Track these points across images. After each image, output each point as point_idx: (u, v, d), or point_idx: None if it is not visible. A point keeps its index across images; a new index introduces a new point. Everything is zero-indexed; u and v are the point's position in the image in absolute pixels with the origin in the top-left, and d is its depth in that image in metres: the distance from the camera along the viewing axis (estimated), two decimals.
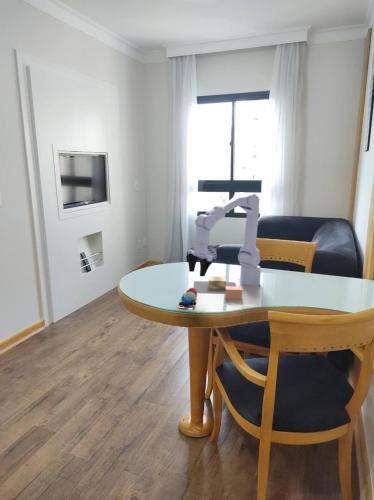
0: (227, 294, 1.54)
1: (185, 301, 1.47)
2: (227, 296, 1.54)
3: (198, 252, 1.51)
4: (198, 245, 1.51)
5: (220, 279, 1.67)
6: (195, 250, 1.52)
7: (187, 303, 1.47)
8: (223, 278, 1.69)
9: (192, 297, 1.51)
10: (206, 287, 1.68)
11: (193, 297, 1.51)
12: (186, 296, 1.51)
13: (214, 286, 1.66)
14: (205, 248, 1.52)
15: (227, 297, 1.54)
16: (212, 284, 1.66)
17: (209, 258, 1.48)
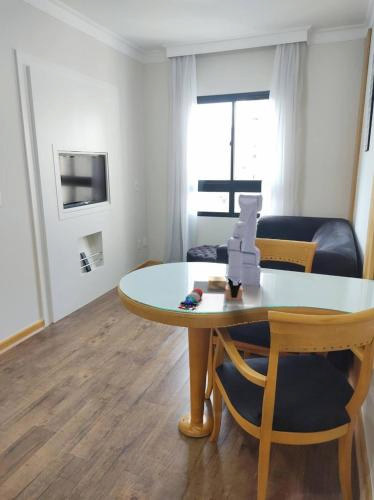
0: (227, 294, 1.54)
1: (186, 301, 1.47)
2: (227, 296, 1.54)
3: (229, 275, 1.52)
4: (229, 268, 1.52)
5: (220, 279, 1.67)
6: (228, 272, 1.54)
7: (188, 303, 1.46)
8: (223, 278, 1.69)
9: (195, 298, 1.50)
10: (206, 287, 1.68)
11: (196, 298, 1.50)
12: (189, 296, 1.51)
13: (214, 286, 1.66)
14: (235, 271, 1.50)
15: (227, 297, 1.54)
16: (212, 284, 1.66)
17: (234, 282, 1.47)
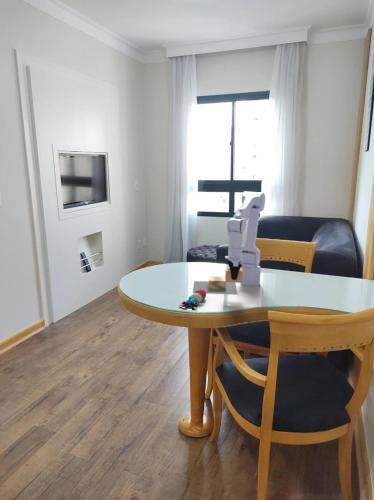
0: (227, 276, 1.53)
1: (187, 301, 1.47)
2: (227, 278, 1.53)
3: (229, 256, 1.51)
4: (229, 249, 1.50)
5: (220, 279, 1.67)
6: (228, 254, 1.52)
7: (188, 303, 1.46)
8: (223, 278, 1.69)
9: (197, 298, 1.49)
10: (206, 287, 1.68)
11: (198, 299, 1.49)
12: (192, 297, 1.51)
13: (214, 286, 1.66)
14: (236, 252, 1.49)
15: (227, 279, 1.53)
16: (212, 284, 1.66)
17: (234, 263, 1.46)
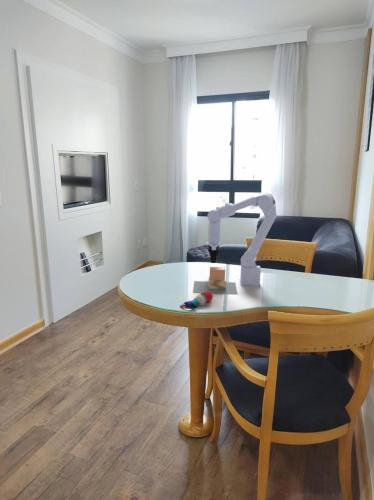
0: (211, 274, 1.66)
1: (188, 302, 1.47)
2: (211, 276, 1.66)
3: (209, 242, 1.76)
4: (208, 236, 1.76)
5: None
6: (208, 240, 1.77)
7: (188, 304, 1.46)
8: None
9: (199, 300, 1.47)
10: (206, 287, 1.68)
11: (200, 301, 1.47)
12: (195, 298, 1.49)
13: (214, 286, 1.66)
14: (214, 238, 1.74)
15: (211, 277, 1.66)
16: (212, 284, 1.66)
17: (212, 247, 1.71)
